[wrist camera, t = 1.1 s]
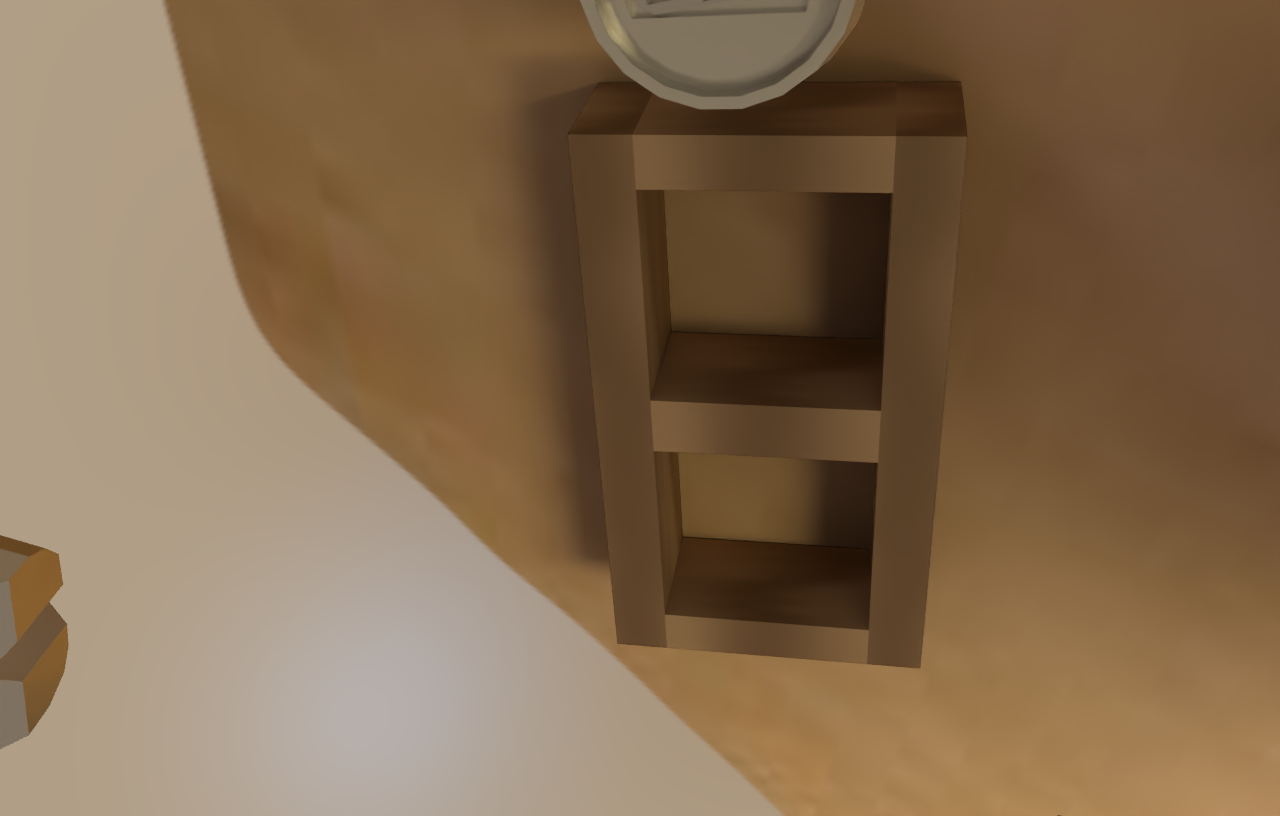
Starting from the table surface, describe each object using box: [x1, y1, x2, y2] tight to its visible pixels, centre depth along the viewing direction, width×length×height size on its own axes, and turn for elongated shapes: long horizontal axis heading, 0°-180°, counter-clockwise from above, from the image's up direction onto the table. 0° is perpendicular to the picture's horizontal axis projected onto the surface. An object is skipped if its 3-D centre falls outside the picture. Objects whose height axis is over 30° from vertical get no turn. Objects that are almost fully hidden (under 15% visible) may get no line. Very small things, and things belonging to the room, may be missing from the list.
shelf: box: [568, 82, 967, 668], centre depth 37 cm, size 10×18×4 cm, turn 4°
